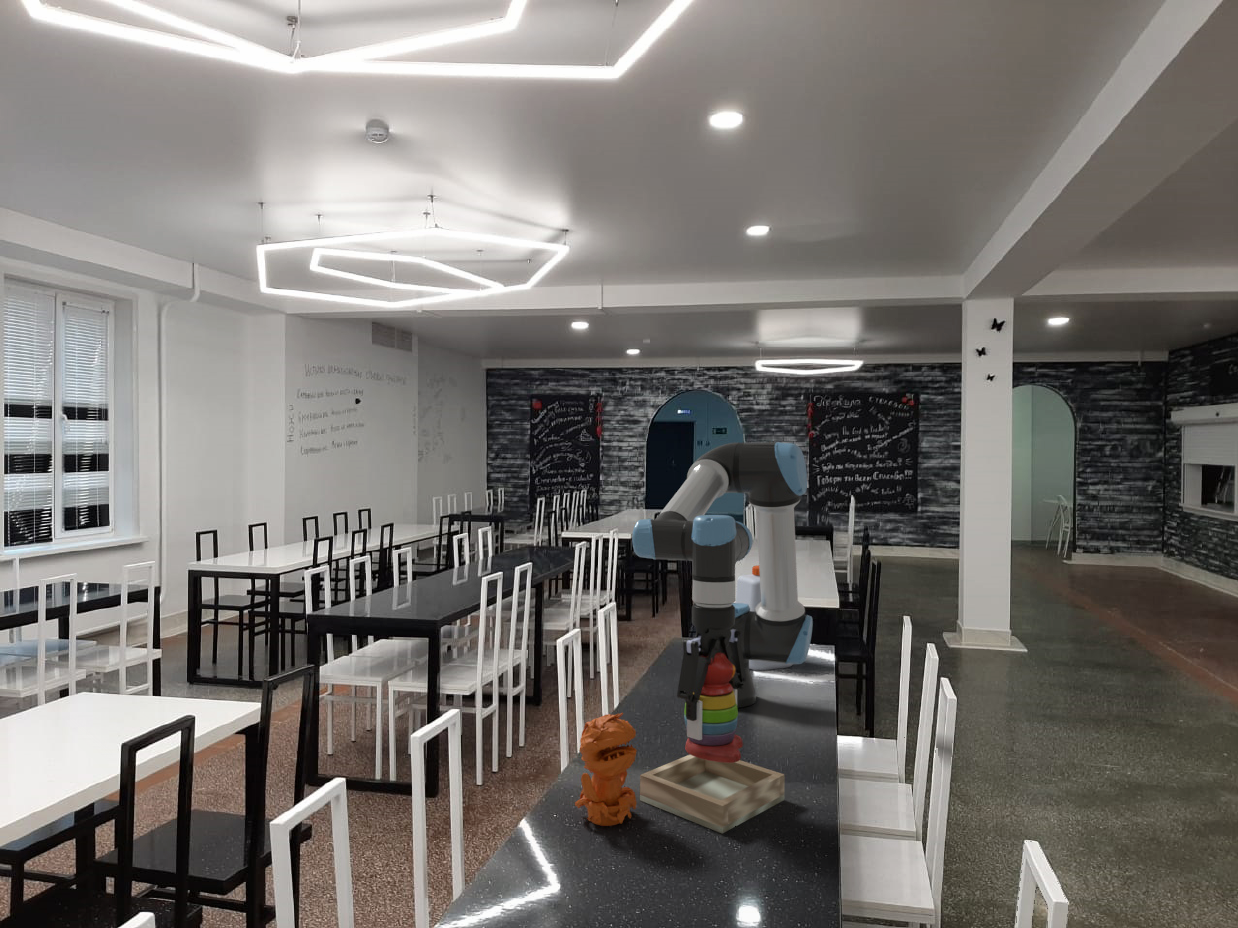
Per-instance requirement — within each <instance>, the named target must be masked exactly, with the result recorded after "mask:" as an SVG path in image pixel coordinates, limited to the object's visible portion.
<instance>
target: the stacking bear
mask: <svg viewBox="0 0 1238 928" xmlns="http://www.w3.org/2000/svg"><path fill="white" fill-rule="evenodd" d="M700 656H701V657H705V656H702V655H700ZM707 657H708V656H707ZM707 657H705V658H707ZM735 672H736V668H735V666H734V665H733V664H732V663H731V662H730V661H729V660H728V659H727V657H726V655H725V654H724V653H717V654H715V657H714V660H713V663H712V659H711V663H710V664H709V666H708V672H707V675H706V678H705V682H704V685H703V688H702V691H701V695H700V698H699V701H702V740H697V739H693V738H690V737H687V740H686V742H685V746H684V748H685V751H686V752H687V754H688V755H692V756H695V757H697V758H701V759H705V760H709V761H715V762H725V763H734V762H738V761H739V760H741V759H742V755H741V751H740V749H741V748H743V745H744V743H743V738H741V736H739V735H737V734H736V729H737V726H738V721H739V720H738V715H739V711H738V710H739V708H737V704H736V699H735V695H734V692H733V687H732V686H731V684H730V683H729V681H730V680H731V679H732V678H733V676H734V674H735ZM693 694H694V692H693ZM683 712H684V713H683V714H684V716H683V717H684V723H685V727H686V728H685V729H686V731H687V719H686V702H685V703H684V711H683Z"/></svg>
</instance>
